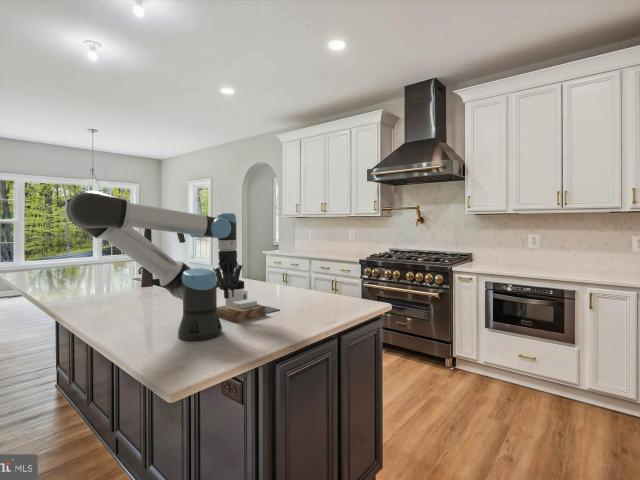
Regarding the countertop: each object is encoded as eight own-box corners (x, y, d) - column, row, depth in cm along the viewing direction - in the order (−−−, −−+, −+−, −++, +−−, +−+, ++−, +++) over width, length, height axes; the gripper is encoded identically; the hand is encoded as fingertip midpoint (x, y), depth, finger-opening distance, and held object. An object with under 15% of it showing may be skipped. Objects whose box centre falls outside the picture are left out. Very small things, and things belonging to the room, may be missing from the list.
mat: (262, 314, 159) (262, 313, 159) (249, 310, 166) (249, 309, 166) (279, 310, 167) (279, 309, 167) (266, 306, 173) (266, 306, 173)
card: (239, 308, 153) (239, 304, 153) (231, 306, 157) (231, 302, 157) (257, 305, 159) (257, 300, 159) (249, 303, 164) (249, 298, 163)
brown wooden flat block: (234, 322, 146) (234, 313, 146) (215, 316, 156) (215, 307, 156) (265, 315, 158) (265, 306, 158) (246, 309, 168) (246, 301, 167)
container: (247, 306, 175) (247, 279, 174) (242, 310, 167) (242, 282, 167) (232, 305, 176) (232, 279, 175) (226, 309, 168) (226, 281, 167)
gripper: (218, 251, 144) (220, 310, 145) (245, 249, 153) (247, 304, 154) (208, 250, 149) (210, 306, 150) (235, 248, 158) (237, 301, 160)
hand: (229, 305), depth 152 cm, fingers closed
